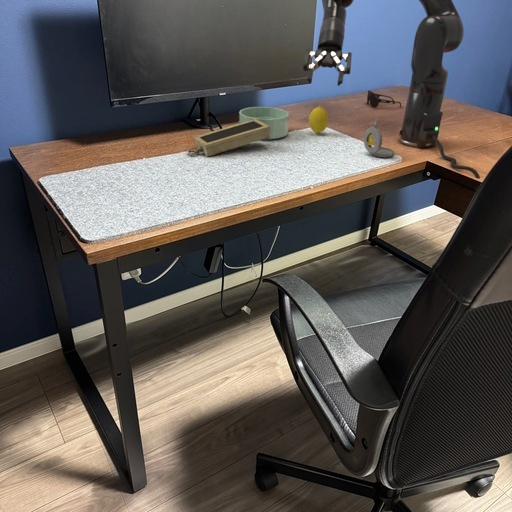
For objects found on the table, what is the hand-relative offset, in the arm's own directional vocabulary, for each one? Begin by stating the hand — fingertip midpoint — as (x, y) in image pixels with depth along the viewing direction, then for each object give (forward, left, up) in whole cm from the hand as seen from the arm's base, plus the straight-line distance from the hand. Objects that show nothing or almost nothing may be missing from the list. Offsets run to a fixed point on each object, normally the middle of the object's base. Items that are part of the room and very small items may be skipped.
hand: (324, 83), depth 146 cm
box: (-10, +37, -13) cm, 40 cm away
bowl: (-1, +21, -13) cm, 25 cm away
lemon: (-7, +6, -13) cm, 16 cm away
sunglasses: (+14, -38, -13) cm, 43 cm away
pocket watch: (-29, +2, -13) cm, 32 cm away
